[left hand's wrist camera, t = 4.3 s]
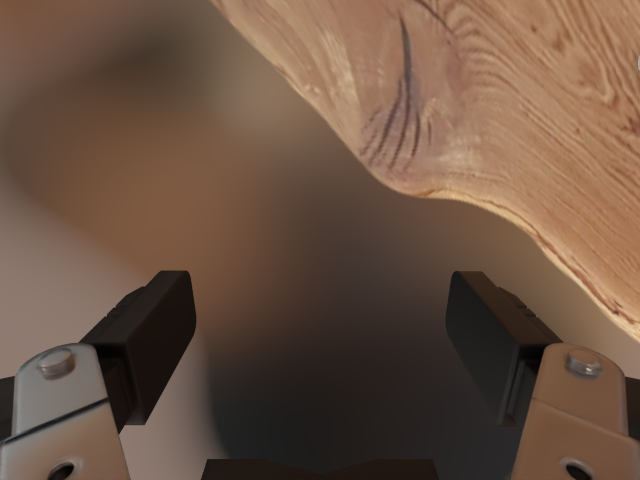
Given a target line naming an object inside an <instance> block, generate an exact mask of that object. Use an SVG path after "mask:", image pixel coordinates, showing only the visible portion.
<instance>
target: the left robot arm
mask: <svg viewBox="0 0 640 480" xmlns="http://www.w3.org/2000/svg"><path fill="white" fill-rule="evenodd" d="M195 328H196V311H195V304H194V297H193V290H192V283H191V277H190V274H189V272H188V271H160V272H159V273H158V274H157V275H156V276H155V277H154V278H153V279H152V280H151V281H150V282H149V283H148V284H147V285H146V286H145V287H140V288H139V289H137V290H135V291H133V292H131V293H130V294H128V295H126V296H125V297H124V298H123V299H122V300H121V301H120V302H119V303H118V304H117V305H116V308H113V309H112V310H111V311H110V312H109V313H108V314H107V317H104V318H103V319H102V320H101V321H100V322H99V323H98V324H97V325H96V326H95V327H94V328H93V329H92V330H91V331H90V332H89V333H88V334H87V335H86V336H85V337H84V338H82V339H81V340H80V341H79V342H78V343H71V344H65V345H61V346H57V347H54V348H51V349H49V350H46V351H44V352H42V353H40V354H38V355H36V356H34V357H33V358H31V359H30V360H28V361H27V362H26V363H25V364H23V365H22V366H21V367H20V369H19V370H18V371H17V373H16V375H15V376H13V377H8V378H3V379H0V480H131V479H130V475H129V471H128V468H127V464H126V460H125V456H124V453H123V449H122V445H121V442H120V438H119V434H120V432H121V430H122V429H123V427H124V426H125V425H145V423H146V421H147V420H148V418H149V416H150V414H151V412H152V411H153V409H154V407H155V405H156V403H157V401H158V400H159V398H160V396H161V394H162V392H163V390H164V389H165V387H166V385H167V383H168V381H169V379H170V378H171V376H172V374H173V372H174V370H175V368H176V367H177V365H178V363H179V361H180V359H181V358H182V356H183V354H184V352H185V350H186V348H187V346H188V345H189V343H190V341H191V339H192V337H193V335H194V332H195ZM446 329H447V333H448V336H449V338H450V340H451V342H452V344H453V345H454V347H455V349H456V351H457V353H458V354H459V356H460V358H461V360H462V362H463V364H464V365H465V367H466V369H467V371H468V373H469V374H470V376H471V378H472V380H473V382H474V383H475V385H476V387H477V389H478V391H479V392H480V394H481V396H482V398H483V400H484V401H485V403H486V405H487V407H488V409H489V411H490V412H491V414H492V416H493V418H494V420H495V421H496V423H497V425H498V426H518V427H519V428H520V430H521V432H522V434H521V438H520V442H519V445H518V449H517V453H516V456H515V460H514V464H513V468H512V471H511V475H510V479H509V480H640V380H639V379H634V378H629V377H625V375H624V373H623V371H622V370H621V369H620V367H619V366H618V365H617V364H615V363H614V362H613V361H612V360H610V359H609V358H607V357H606V356H604V355H602V354H600V353H598V352H596V351H594V350H592V349H589V348H586V347H583V346H579V345H575V344H569V343H564V342H563V341H562V340H561V339H560V338H559V337H558V336H557V335H556V334H555V333H554V332H553V331H551V330H550V329H549V328H548V327H547V326H546V325H545V324H544V323H543V322H542V321H541V320H540V319H539V318H538V317H536V315H535V314H534V313H533V312H532V311H531V310H530V309H529V308H527V306H526V305H525V304H524V303H523V302H522V301H521V300H520V299H519V298H518V297H517V296H515V295H514V294H512V293H510V292H508V291H506V290H504V289H503V288H501V287H496V285H495V284H494V283H493V282H492V281H491V280H490V279H489V278H488V277H487V276H486V275H485V274H484V273H483V272H481V271H455V272H454V273H453V275H452V278H451V284H450V291H449V297H448V304H447V311H446ZM201 480H439V478H438V475H437V472H436V469H435V465H434V462H433V459H376V460H372V461H369V462H365V463H361V464H357V465H353V466H349V467H345V468H342V469H338V470H334V471H330V472H326V473H314V472H310V471H306V470H302V469H298V468H294V467H291V466H287V465H283V464H279V463H275V462H271V461H268V460H264V459H208V460H207V462H206V465H205V469H204V472H203V475H202V478H201Z"/></svg>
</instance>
